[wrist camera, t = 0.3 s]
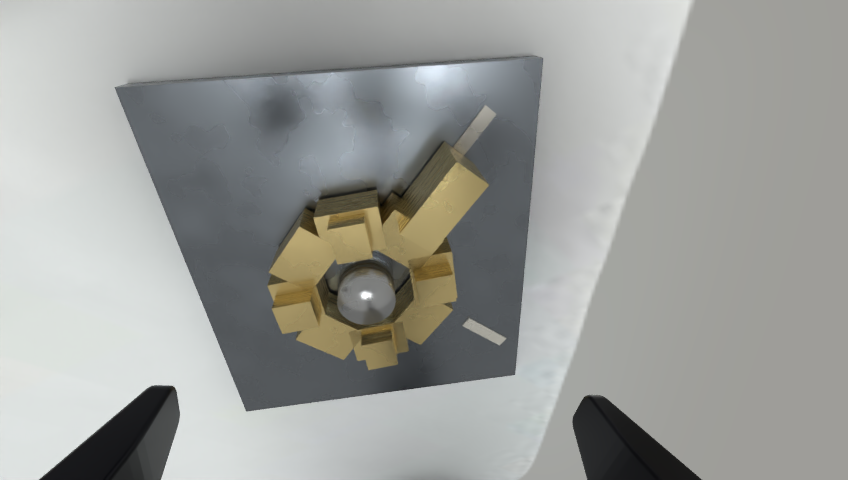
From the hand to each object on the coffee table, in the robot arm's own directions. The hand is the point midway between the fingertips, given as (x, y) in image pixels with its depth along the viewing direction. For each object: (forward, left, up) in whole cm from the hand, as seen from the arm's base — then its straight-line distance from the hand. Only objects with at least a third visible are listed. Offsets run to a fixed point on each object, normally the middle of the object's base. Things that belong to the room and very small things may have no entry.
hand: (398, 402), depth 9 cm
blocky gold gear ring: (-3, 0, -13) cm, 13 cm away
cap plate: (-5, +1, -14) cm, 15 cm away
